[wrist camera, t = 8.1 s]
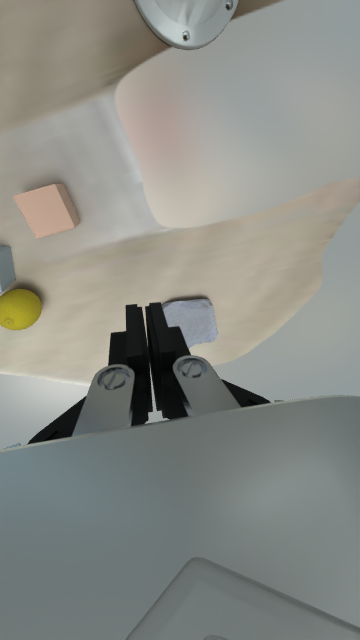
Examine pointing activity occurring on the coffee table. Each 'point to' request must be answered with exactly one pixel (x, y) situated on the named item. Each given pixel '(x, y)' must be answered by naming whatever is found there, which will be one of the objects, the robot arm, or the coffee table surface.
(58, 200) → the terracotta block
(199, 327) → the stone block
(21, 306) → the lemon
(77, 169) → the coffee table surface
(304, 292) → the coffee table surface
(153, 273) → the coffee table surface
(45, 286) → the coffee table surface
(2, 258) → the slate block
